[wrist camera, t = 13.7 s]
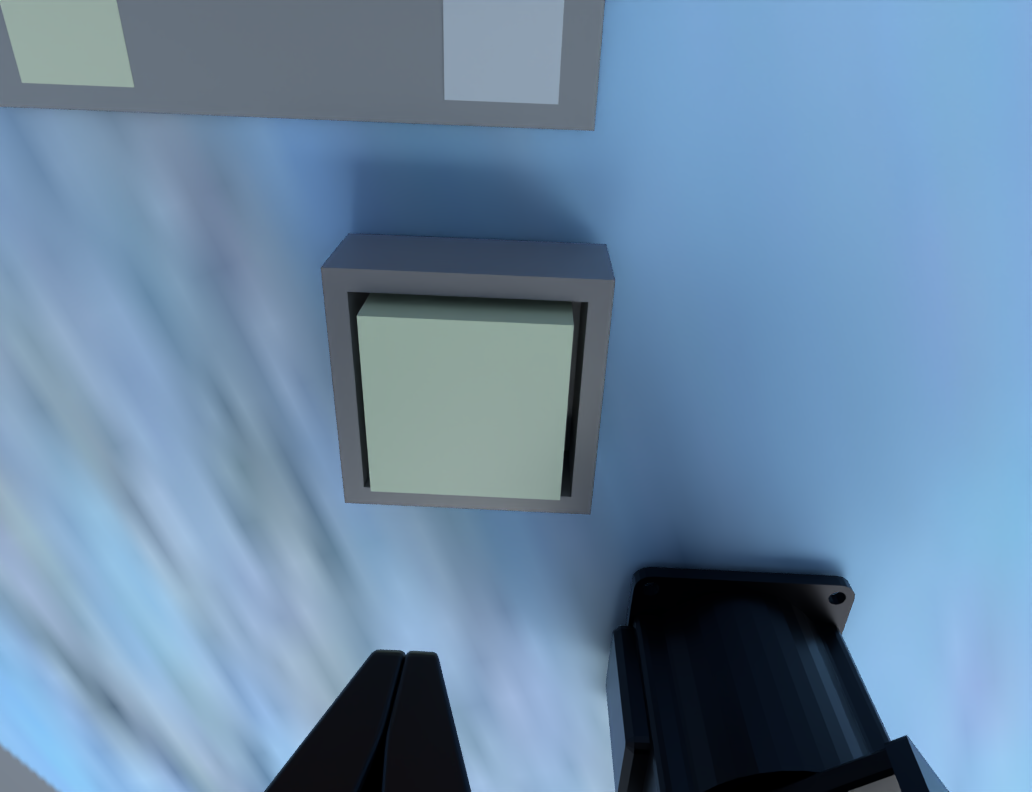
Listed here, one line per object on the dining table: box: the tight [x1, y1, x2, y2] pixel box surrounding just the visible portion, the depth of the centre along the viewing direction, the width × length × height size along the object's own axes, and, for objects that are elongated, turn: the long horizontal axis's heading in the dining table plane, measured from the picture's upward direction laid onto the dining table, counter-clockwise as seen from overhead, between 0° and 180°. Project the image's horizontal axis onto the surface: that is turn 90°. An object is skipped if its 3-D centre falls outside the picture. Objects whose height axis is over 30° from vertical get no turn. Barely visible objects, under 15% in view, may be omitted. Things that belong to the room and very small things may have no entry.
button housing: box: [321, 233, 615, 514], centre depth 17 cm, size 6×6×2 cm
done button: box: [357, 293, 574, 500], centre depth 17 cm, size 4×4×2 cm
